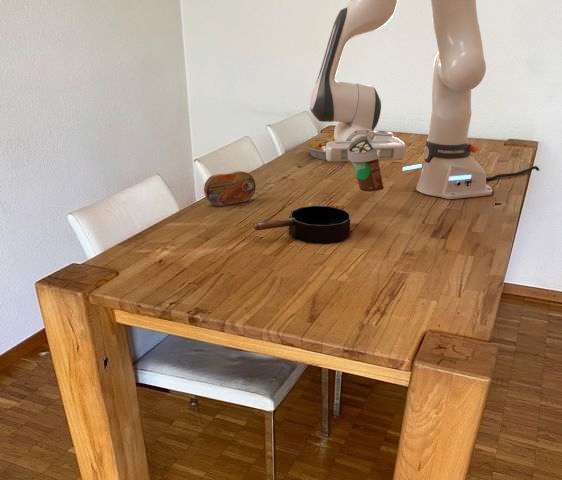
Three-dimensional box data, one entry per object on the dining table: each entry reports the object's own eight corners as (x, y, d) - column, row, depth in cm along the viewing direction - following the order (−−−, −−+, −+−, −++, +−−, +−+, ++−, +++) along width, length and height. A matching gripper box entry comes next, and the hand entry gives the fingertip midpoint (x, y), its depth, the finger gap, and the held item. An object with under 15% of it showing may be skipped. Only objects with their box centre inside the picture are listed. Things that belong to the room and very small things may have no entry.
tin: (207, 208, 163) (205, 177, 158) (203, 205, 165) (201, 174, 160) (256, 200, 168) (255, 170, 164) (251, 197, 171) (251, 168, 166)
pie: (376, 152, 218) (377, 138, 215) (349, 165, 202) (350, 150, 199) (325, 145, 227) (325, 131, 225) (295, 156, 212) (296, 142, 209)
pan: (332, 219, 155) (333, 202, 152) (360, 238, 143) (361, 220, 141) (244, 232, 147) (243, 213, 144) (265, 253, 135) (265, 233, 133)
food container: (351, 181, 149) (341, 143, 143) (374, 173, 148) (366, 134, 142) (359, 199, 139) (350, 158, 133) (384, 191, 138) (376, 150, 132)
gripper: (320, 133, 151) (330, 146, 139) (397, 131, 153) (413, 143, 141) (319, 159, 154) (329, 173, 143) (394, 156, 156) (410, 170, 145)
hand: (372, 158), depth 142 cm, fingers closed on food container
